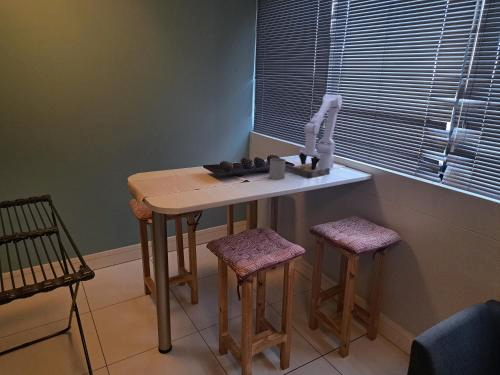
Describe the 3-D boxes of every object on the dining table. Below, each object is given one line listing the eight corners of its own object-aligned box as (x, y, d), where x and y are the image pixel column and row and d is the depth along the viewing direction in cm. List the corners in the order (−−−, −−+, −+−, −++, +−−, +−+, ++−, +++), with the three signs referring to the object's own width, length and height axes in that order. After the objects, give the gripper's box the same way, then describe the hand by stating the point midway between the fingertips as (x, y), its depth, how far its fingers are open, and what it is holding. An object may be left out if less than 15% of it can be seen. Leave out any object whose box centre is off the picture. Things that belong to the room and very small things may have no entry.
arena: (300, 166, 215) (300, 160, 214) (329, 175, 198) (329, 168, 197) (280, 170, 205) (280, 163, 204) (309, 179, 188) (309, 172, 187)
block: (299, 173, 197) (299, 164, 195) (309, 171, 202) (310, 163, 201) (304, 175, 194) (305, 166, 192) (315, 173, 199) (316, 164, 197)
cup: (284, 180, 186) (286, 161, 182) (269, 179, 186) (270, 161, 183) (283, 175, 194) (284, 158, 190) (269, 175, 194) (270, 157, 191)
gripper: (296, 143, 196) (294, 166, 200) (315, 147, 185) (313, 172, 189) (304, 142, 200) (302, 164, 204) (323, 146, 189) (321, 170, 194)
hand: (308, 168), depth 197 cm, fingers open, 7 cm apart
